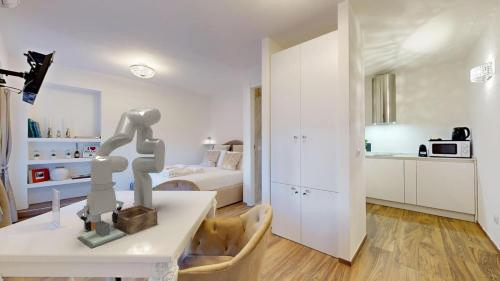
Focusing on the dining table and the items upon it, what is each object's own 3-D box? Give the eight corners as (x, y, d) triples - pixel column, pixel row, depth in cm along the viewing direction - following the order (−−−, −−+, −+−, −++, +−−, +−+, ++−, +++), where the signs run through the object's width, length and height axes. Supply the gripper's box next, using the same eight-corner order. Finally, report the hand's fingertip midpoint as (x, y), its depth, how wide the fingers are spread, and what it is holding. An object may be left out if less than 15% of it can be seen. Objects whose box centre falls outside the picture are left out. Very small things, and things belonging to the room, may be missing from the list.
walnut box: (129, 234, 91) (129, 218, 91) (113, 226, 100) (112, 212, 100) (157, 224, 102) (157, 210, 102) (139, 217, 111) (139, 204, 111)
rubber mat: (77, 238, 88) (77, 237, 88) (111, 227, 99) (111, 226, 99) (91, 248, 80) (91, 247, 80) (127, 235, 90) (127, 234, 90)
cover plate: (93, 245, 81) (93, 231, 81) (80, 237, 88) (80, 224, 88) (123, 234, 90) (123, 222, 90) (109, 227, 97) (109, 216, 97)
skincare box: (83, 232, 94) (83, 205, 94) (85, 228, 98) (85, 203, 98) (99, 229, 97) (99, 203, 97) (101, 226, 101) (101, 201, 100)
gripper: (119, 182, 98) (119, 218, 98) (73, 189, 84) (73, 232, 84) (127, 184, 94) (127, 221, 94) (80, 192, 80) (80, 236, 80)
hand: (102, 226), depth 89 cm, fingers open, 9 cm apart
